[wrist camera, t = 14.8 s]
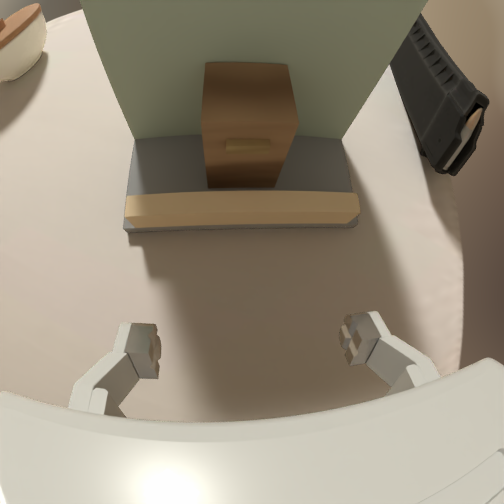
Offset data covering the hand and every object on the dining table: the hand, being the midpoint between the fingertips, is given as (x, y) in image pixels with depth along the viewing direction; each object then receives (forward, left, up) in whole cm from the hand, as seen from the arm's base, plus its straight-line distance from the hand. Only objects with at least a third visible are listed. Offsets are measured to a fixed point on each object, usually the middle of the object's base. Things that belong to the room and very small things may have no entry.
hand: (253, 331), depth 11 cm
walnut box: (+10, +8, -7) cm, 15 cm away
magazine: (+35, 0, -9) cm, 36 cm away
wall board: (+9, +7, -8) cm, 15 cm away
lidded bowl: (+6, +49, -9) cm, 50 cm away
